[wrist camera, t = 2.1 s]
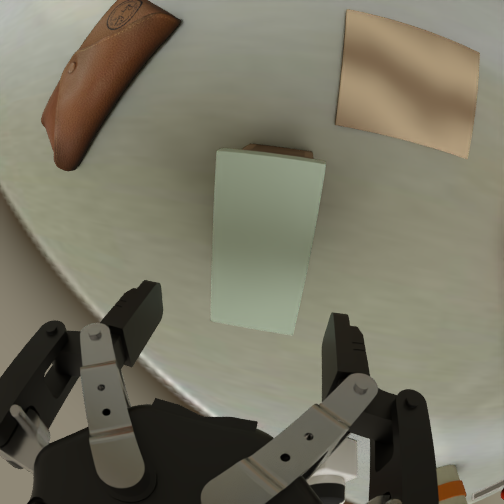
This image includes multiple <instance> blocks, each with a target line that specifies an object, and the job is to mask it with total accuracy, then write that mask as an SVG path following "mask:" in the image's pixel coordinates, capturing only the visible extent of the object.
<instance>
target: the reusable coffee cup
mask: <svg viewBox="0 0 504 504" xmlns="http://www.w3.org/2000/svg"><path fill="white" fill-rule="evenodd" d="M436 471H437V481H438V495H439V504H467V501H466V498H465V497H466V492H465V489H464V485H463V482H462V481H461V480H460V479H459V476H458V473H457V470H456V467H455V465H447V466H443V467H440V468H437V469H436Z"/></svg>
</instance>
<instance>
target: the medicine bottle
mask: <svg viewBox="0 0 504 504" xmlns="http://www.w3.org/2000/svg"><path fill="white" fill-rule="evenodd" d="M357 476H358V465H357V441H354V440H352V439H349V438H346V439H345V440H344V442H343V443H342V444H341V445H340V446H339V447H338V448H337V449H336V450H335V451H334V452H333V453H332V455H331V456H330V457H329V458H328V459H327V460H326V461H325V462H324V463H323V464H322V466H321V467H320V468H319V469H318V470H317V471H316V472H315V473H314V474H313V475H312V476H311V477H310V478H309V479H308V480H307V483H308V484H309V485H310V487H311V488H312V489H313V491H314V492H315V493H316V495H317V496H318V497H319V499H320V500H321V501H322V502H323V504H343V503H344V502H345V482H346V481H348V480H351V479H354V478H356V477H357Z"/></svg>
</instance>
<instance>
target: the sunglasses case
mask: <svg viewBox="0 0 504 504" xmlns="http://www.w3.org/2000/svg"><path fill="white" fill-rule="evenodd" d="M180 23H181V20H180V19H178V18H176V17H175V16H173V15H171V14H170V13H168V12H167V11H165V10H163V9H162V8H160V7H158V6H157V5H155V4H153V3H151V2H150V1H148V0H117V1H116V2H115V3H114V4H113V5H112V7H111V8H110V9H109V10H108V11H107V12H106V13H105V14H104V16H103V17H102V18H101V20H100V21H99V22H98V23H97V25H96V26H95V27H94V29H93V30H92V31H91V33H90V34H89V35H88V37H87V38H86V40H85V41H84V42H83V44H82V45H81V47H80V48H79V50H77V52H75V54H74V55H73V56H72V58H71V59H70V61H69V62H68V64H67V65H66V67H65V69H64V71H63V73H62V76H61V79H60V81H59V82H58V84H57V86H56V88H55V90H54V91H53V93H52V95H51V97H50V99H49V101H48V103H47V105H46V108H45V109H44V112H43V114H42V118H41V123H42V124H43V126H44V127H45V128H46V131H47V134H48V137H49V139H50V143H51V145H52V149H53V151H54V162H55V164H56V166H57V167H58V168H60V169H62V170H65V171H73V170H75V169H77V167H78V166H79V164H80V163H81V161H82V159H83V157H84V155H85V154H86V152H87V150H88V148H89V146H90V144H91V142H92V140H93V139H94V137H95V135H96V133H97V132H98V130H99V129H100V127H101V125H102V123H103V122H104V120H105V118H106V117H107V115H108V114H109V112H110V111H111V109H112V108H113V106H114V105H115V104H116V102H117V101H118V99H119V98H120V96H121V95H122V93H123V92H124V91H125V89H126V88H127V86H128V85H129V84H130V82H131V81H132V80H133V78H134V77H135V76H136V75H137V73H138V72H139V71H140V69H141V68H142V67H143V66H144V64H145V63H146V62H147V61H148V60H149V58H150V57H151V56H152V55H153V54H154V52H155V51H156V50H157V49H158V48H159V47H160V46H161V45H162V44H163V43H164V41H165V40H166V39H167V38H168V37H169V36H170V34H171V33H172V32H173V31H174V30H175V29H176V28H177V27H178V25H179V24H180Z"/></svg>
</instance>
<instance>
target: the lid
mask: <svg viewBox="0 0 504 504" xmlns="http://www.w3.org/2000/svg"><path fill="white" fill-rule="evenodd" d="M325 168H326V163H325V161H322V160H316V159H310V158H303V157H297V156H289V155H282V154H274V153H266V152H258V151H249V150H239V149H229V148H221V149H219V150H217V154H216V171H215V190H214V212H213V238H212V272H211V321H213V322H218V323H223V324H228V325H234V326H239V327H245V328H250V329H256V330H262V331H268V332H274V333H280V334H287V335H293V333H294V329H295V324H296V320H297V315H298V311H299V307H300V302H301V297H302V293H303V288H304V283H305V279H306V274H307V269H308V264H309V259H310V254H311V249H312V244H313V238H314V233H315V228H316V222H317V216H318V211H319V205H320V199H321V193H322V187H323V181H324V175H325Z"/></svg>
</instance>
